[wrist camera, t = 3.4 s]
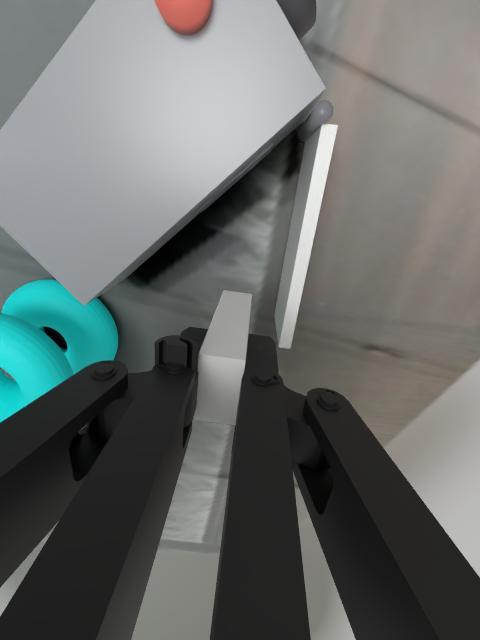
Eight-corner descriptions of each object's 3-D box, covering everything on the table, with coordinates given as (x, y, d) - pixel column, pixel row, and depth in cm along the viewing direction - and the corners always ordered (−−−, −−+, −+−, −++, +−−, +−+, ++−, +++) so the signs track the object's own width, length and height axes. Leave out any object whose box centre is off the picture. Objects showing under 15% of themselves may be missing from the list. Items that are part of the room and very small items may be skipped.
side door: (286, 315, 26) (295, 352, 20) (267, 312, 26) (270, 349, 20) (323, 128, 20) (350, 103, 14) (299, 126, 20) (316, 99, 14)
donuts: (51, 467, 21) (-94, 426, 20) (114, 383, 30) (15, 352, 29) (66, 355, 17) (-115, 298, 16) (132, 298, 26) (20, 258, 25)
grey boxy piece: (129, 278, 25) (79, 313, 18) (42, 187, 23) (-55, 185, 16) (336, 96, 19) (381, 42, 12) (251, -56, 17) (247, -237, 10)
